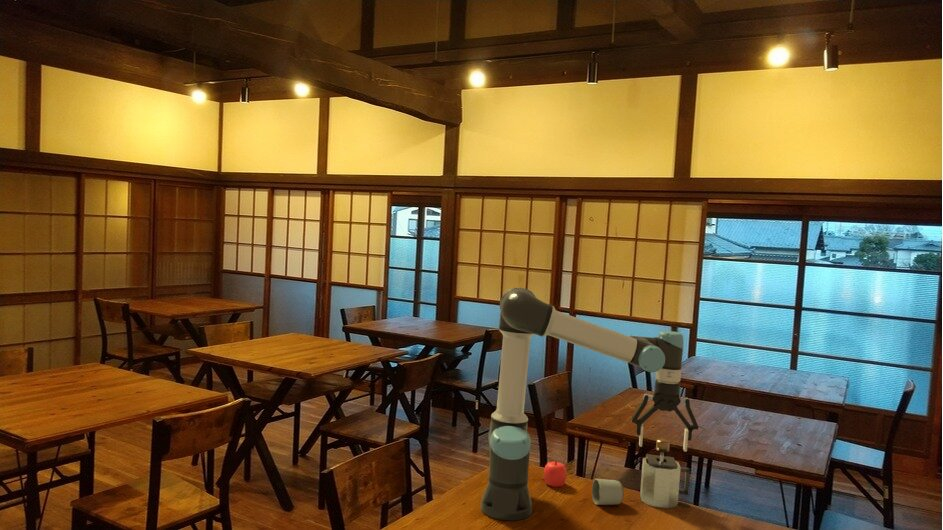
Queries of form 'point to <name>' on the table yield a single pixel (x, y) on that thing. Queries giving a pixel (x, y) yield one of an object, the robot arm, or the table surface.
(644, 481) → the carafe
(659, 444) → the plunger
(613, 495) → the ceramic mug
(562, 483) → the apple
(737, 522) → the table surface
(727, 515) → the table surface
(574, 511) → the table surface
